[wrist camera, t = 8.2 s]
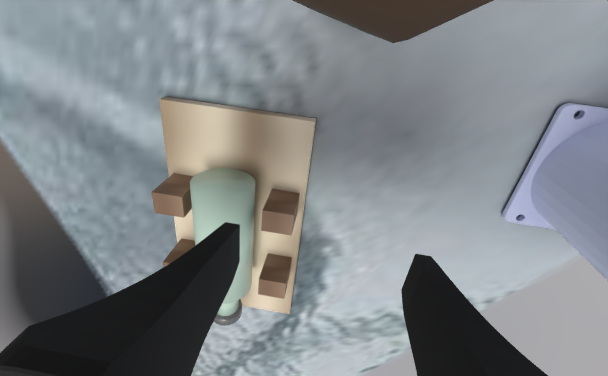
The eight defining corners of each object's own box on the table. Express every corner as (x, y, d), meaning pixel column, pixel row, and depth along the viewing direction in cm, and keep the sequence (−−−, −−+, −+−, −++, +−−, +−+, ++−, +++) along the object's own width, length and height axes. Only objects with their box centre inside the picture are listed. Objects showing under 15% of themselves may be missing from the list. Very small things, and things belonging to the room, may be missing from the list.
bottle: (263, 174, 20) (242, 203, 17) (257, 298, 27) (240, 339, 23) (208, 163, 21) (176, 191, 17) (214, 288, 27) (192, 327, 23)
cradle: (316, 118, 19) (310, 136, 16) (290, 306, 28) (284, 342, 25) (165, 96, 20) (131, 110, 16) (187, 288, 28) (168, 320, 25)
